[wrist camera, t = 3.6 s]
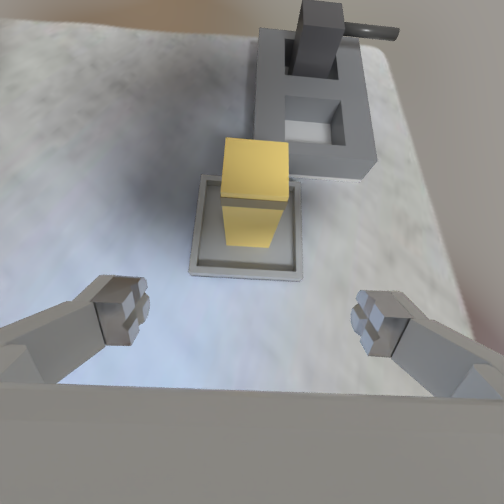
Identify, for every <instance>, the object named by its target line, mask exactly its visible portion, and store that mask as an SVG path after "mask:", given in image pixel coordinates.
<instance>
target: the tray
mask: <svg viewBox="0 0 504 504" xmlns="http://www.w3.org/2000/svg"><path fill="white" fill-rule="evenodd" d="M221 182H222V176H217V175H204V174H201V180H200V187H199V195H198V203H197V210H196V218H195V225H194V233H193V241H192V248H191V256H190V263H189V271H188V273H189V274H190V275H191V276H201V277H219V278H237V279H256V280H274V281H292V282H300V281H301V280H302V279H303V251H302V216H301V182H296V181H289V198H288V204H287V206H286V208H285V210H284V211H283V213H282V216H281V218H280V221H279V223H278V226H277V228H276V231H275V233H274V236H273V238H272V241H271V243H270V246H269V248H261V247H245V246H229V245H226V237H225V228H224V219H223V210H222V206H221V201H220V193H221Z"/></svg>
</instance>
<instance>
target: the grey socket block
mask: <svg viewBox="0 0 504 504" xmlns="http://www.w3.org/2000/svg"><path fill="white" fill-rule="evenodd" d="M399 30H400V29H399V28H395V27H386V26H377V25H367V24H358V23H349V22H344V16H343V9H342V4H341V3H333V2H324V1H315V0H302V4H301V9H300V14H299V19H298V24H297V29H296V31H287V30H277V29H268V28H259V41H258V54H257V70H256V90H255V109H254V129H253V140H263V141H275V142H287V143H288V150H289V177H293V178H306V179H319V180H333V181H346V182H360V181H361V180H362V179H363V178H364V177H365V175H366V174H367V173H368V172H369V171H370V169H371V168H372V167H373V166H374V165H375V163H376V162H377V154H376V148H375V141H374V135H373V129H372V122H371V116H370V109H369V103H368V96H367V90H366V84H365V77H364V71H363V64H362V58H361V51H360V45H359V39H358V38H352V37H361V38H369V39H379V40H388V41H395V40H396V39H397V37H398V34H399ZM343 36H351V37H343Z"/></svg>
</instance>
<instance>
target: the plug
mask: <svg viewBox="0 0 504 504" xmlns="http://www.w3.org/2000/svg"><path fill="white" fill-rule="evenodd" d="M288 198H289V150H288V143H287V142H275V141H263V140H251V139H239V138H227V137H226V141H225V151H224V161H223V171H222V182H221V193H220V201H221V206H222V210H223V219H224V228H225V237H226V245H229V246H245V247H261V248H269V246H270V243H271V241H272V238H273V236H274V233H275V231H276V228H277V226H278V223H279V221H280V218H281V216H282V213H283V211H284V210H285V208H286V206H287V204H288Z"/></svg>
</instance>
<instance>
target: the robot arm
mask: <svg viewBox="0 0 504 504" xmlns="http://www.w3.org/2000/svg"><path fill="white" fill-rule="evenodd" d="M147 288H148V286H147V281H146V279H145V278H144V277H131V276H118V275H117V276H116V275H99V276H98V277H97V278H96V279H95V280H94V281H93V282H92V283H91V284H90V285H89V286H87V287H86V288H85V289H84V290H83V291H82V292H81V293H80V294H79V295H78V296H77V297H76V298H75V299H74V300H72V301H66V302H63V303H61V304H58V305H56V306H53V307H51V308H49V309H46V310H44V311H41V312H39V313H36V314H34V315H31V316H29V317H26V318H24V319H21V320H19V321H17V322H14V323H12V324H9V325H7V326H4V327H2V328H0V504H504V356H503V355H501V354H499V353H497V352H495V351H493V350H491V349H489V348H487V347H485V346H483V345H482V344H480V343H478V342H476V341H474V340H472V339H470V338H468V337H466V336H464V335H462V334H460V333H458V332H456V331H454V330H452V329H451V328H449V327H447V326H445V325H443V324H441V323H439V322H437V321H435V320H429V319H428V318H427V317H426V315H425V314H424V313H423V312H422V311H421V310H420V309H419V308H418V307H417V306H416V305H415V304H414V303H413V302H412V301H411V300H410V299H409V298H408V297H407V296H406V295H405V294H404V293H402V292H400V291H372V290H360V291H359V292H358V294H357V297H356V300H357V302H358V304H357V305H355V306H354V307H353V308H352V312H351V324H352V327H353V329H354V331H355V332H356V333H357V334H358V335H360V336H361V339H360V342H361V344H362V346H363V348H364V350H365V352H366V353H367V355H368V356H375V357H389V358H391V359H392V360H393V361H394V362H395V363H397V364H398V365H399V366H400V367H401V368H402V369H403V370H405V371H406V372H407V373H408V374H409V375H410V376H411V377H413V378H414V379H415V380H416V381H417V382H418V383H420V384H421V385H422V386H423V387H424V388H425V389H426V390H428V391H429V392H430V393H431V394H432V395H433V396H435V397H420V396H391V395H363V394H335V393H308V392H279V391H250V390H222V389H193V388H164V387H136V386H107V385H79V384H56V383H58V382H59V381H60V380H62V379H63V378H64V377H66V376H67V375H68V374H70V373H71V372H72V371H74V370H75V369H76V368H78V367H79V366H80V365H82V364H83V363H84V362H86V361H87V360H88V359H90V358H91V357H92V356H94V355H95V354H96V353H98V352H99V351H100V350H102V349H103V348H104V347H105V345H111V346H131V345H132V344H133V342H134V340H135V338H136V336H137V335H138V333H139V325H141V324H142V323H144V322H145V320H146V318H147V316H148V313H149V309H150V300H149V296H148V295H147V294H146V293H145V291H146V289H147Z"/></svg>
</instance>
